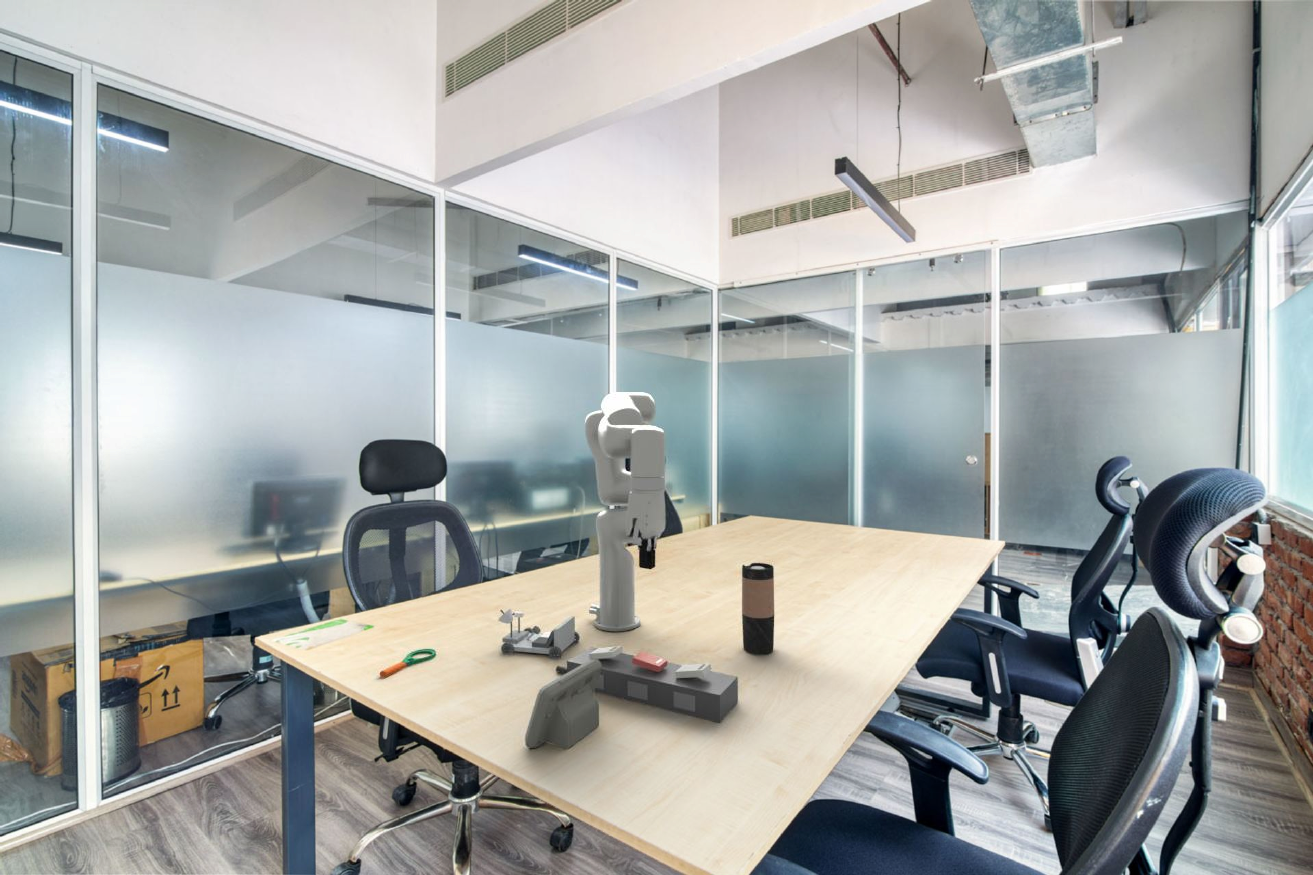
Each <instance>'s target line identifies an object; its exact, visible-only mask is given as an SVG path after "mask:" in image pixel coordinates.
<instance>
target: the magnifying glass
mask: <svg viewBox="0 0 1313 875" xmlns="http://www.w3.org/2000/svg"><path fill="white" fill-rule="evenodd" d="M423 654H424V655H425V654H427V656H424V657H414V656H417V655H423ZM428 654H430V655H428ZM436 656H437V651H436V649H433V648H423V649H422V648H421V649H417V650H413V651H411V652H409V653H408V654H407V655H406V656H405V657H404V659H403V660H401V662H398V663H396V664H393V665H392V666H389V667H387V668H385V669H382V670H381V671H380V672H379V676H380V677H381V678H388V677H390V676H392V675H394V674H396V673H397V672H399V671H401V670H404V669H405V668H407V667H410V666H413V665H418V664H421V663H424V662H427V661H431V660H432V659H434V658H435V657H436Z"/></svg>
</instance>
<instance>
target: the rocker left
mask: <svg viewBox="0 0 1313 875" xmlns="http://www.w3.org/2000/svg"><path fill="white" fill-rule="evenodd" d="M597 648H598V649H596V650H595V651H593V652H591V653H589V657H590V660H592V659H603V658H614V657H615V656H617V655H619V654H620V653H623V652H624V651H623V646H622V645H616V646H609V647H608V646H607V647H597Z"/></svg>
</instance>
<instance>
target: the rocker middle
mask: <svg viewBox="0 0 1313 875" xmlns="http://www.w3.org/2000/svg"><path fill="white" fill-rule="evenodd" d="M667 662H668V659H665V658H663V657H660V656H657V655H654V654H650V653H648V652H644V651H640V652H639V653H637V654H636V655H634V657H633V660H632V663H633V664H635V665H638V666H641V667H644V668H647V669H650V670H653V671H656V672H660V671H661V670H662V669H664V668H665V667H666V666H667Z"/></svg>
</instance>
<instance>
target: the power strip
mask: <svg viewBox="0 0 1313 875" xmlns="http://www.w3.org/2000/svg"><path fill="white" fill-rule="evenodd" d="M598 648H599V647H593V646H591V647H589V648H588V649H586V650H584V651H582V652H581V653H578V654H577V655H575V656H574V657H572V658H570V659H568V660H566V667H565V666H561V665H557V666H556V668H555V671H556V672H557V673H561V674H566V673H568V672H570V671H572V670H573V669H575V668H577V667H579V666H580V665H582V664H584V663H586V662H588V661H590V657H589V653H591V652H593V651H595V650H596V649H598ZM634 656H635V655H634V654H628V653H623V652H622V653H620V654H619V655H617V656H615V657H614V658H603V659H597V660H599V661H600V663H601V672H600V675H599V678H598V681H597V685H596V688H595V691H594V693H598V694H602V695H605V696H610V697H613V698H618V699H620V700H621V699H622V700H625V701H631V702H634V703H638V704H642V705H646V706H650V707H654V708H657V709H662V710H666V711H670V712H674V713H678V714H682V715H686V716H691V717H695V718H699V719H702V720H706V721H710V722H714V723H719V724H721V723H722V722H723V720H725V718H726V717H727V716H728V715H729V714H730V712H731V711H732V710H733V709H734V708H735V707H736V706H737V704H739V676H737V675H732V674H727V673H722V672H717V671H712V670H711V671H710V672H709V673H707V674H706V675H705V676H704V677H689V678H676V675H675V671H677V670H678V669H679V668H680V667H681V666H683V665H684V664H683V665H682V664H677V663H673V662H668V661H667V666H666V667H665V668H664V669H662V670H661V671H660V672H656V671H653V670H650V669H647V668H644V667H641V666H638V665H635V664H633V663H632V660H633V657H634ZM592 660H595V659H592Z"/></svg>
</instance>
